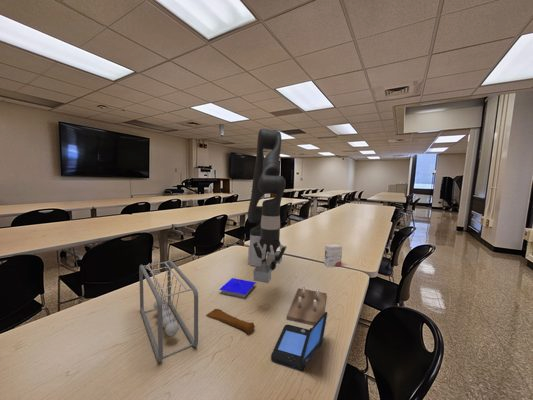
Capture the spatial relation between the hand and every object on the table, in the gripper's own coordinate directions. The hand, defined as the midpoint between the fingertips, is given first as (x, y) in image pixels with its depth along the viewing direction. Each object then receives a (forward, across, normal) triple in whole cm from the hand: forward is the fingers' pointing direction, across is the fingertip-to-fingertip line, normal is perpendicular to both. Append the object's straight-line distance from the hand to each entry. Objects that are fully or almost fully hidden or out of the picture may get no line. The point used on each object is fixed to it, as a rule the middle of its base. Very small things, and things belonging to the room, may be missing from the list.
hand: (268, 268), depth 92 cm
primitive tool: (+14, -8, -19) cm, 24 cm away
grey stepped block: (0, 0, 0) cm, 1 cm away
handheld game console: (+13, +17, -22) cm, 31 cm away
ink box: (+13, +23, +50) cm, 57 cm away
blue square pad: (+14, -14, +3) cm, 20 cm away
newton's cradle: (+13, -25, -29) cm, 40 cm away
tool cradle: (+13, +16, +1) cm, 21 cm away
